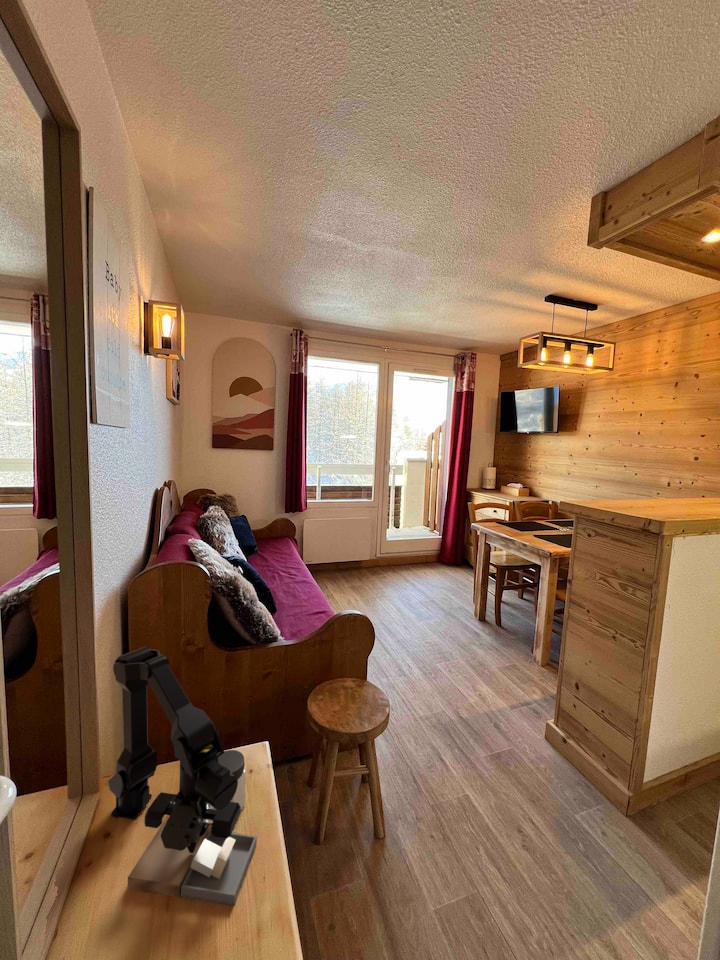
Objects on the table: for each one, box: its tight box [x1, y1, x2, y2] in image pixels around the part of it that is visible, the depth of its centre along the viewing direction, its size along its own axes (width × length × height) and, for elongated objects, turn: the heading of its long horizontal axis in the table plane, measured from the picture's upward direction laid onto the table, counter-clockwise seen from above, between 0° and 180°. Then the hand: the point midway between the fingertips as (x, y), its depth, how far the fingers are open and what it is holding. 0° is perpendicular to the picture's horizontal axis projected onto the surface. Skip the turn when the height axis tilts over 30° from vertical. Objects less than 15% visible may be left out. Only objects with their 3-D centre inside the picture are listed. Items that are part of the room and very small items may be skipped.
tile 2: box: [211, 837, 236, 879], centre depth 82 cm, size 4×4×2 cm
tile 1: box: [190, 839, 222, 878], centre depth 82 cm, size 4×4×2 cm
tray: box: [180, 829, 258, 907], centre depth 82 cm, size 11×12×2 cm
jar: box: [214, 749, 247, 811], centre depth 96 cm, size 9×8×12 cm
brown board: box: [127, 821, 210, 898], centre depth 83 cm, size 11×12×2 cm
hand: (192, 850), depth 83 cm, fingers closed
